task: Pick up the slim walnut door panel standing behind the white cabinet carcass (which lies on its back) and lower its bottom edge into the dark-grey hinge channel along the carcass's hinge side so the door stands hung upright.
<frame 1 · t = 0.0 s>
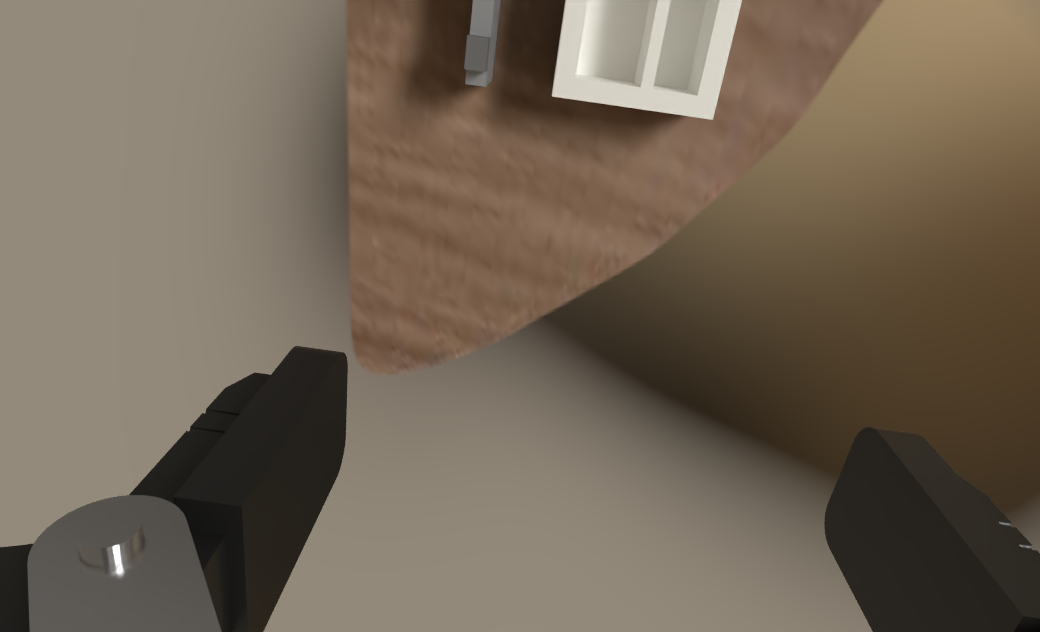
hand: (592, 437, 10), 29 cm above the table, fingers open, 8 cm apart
cabinet: (641, 9, 34), on the table
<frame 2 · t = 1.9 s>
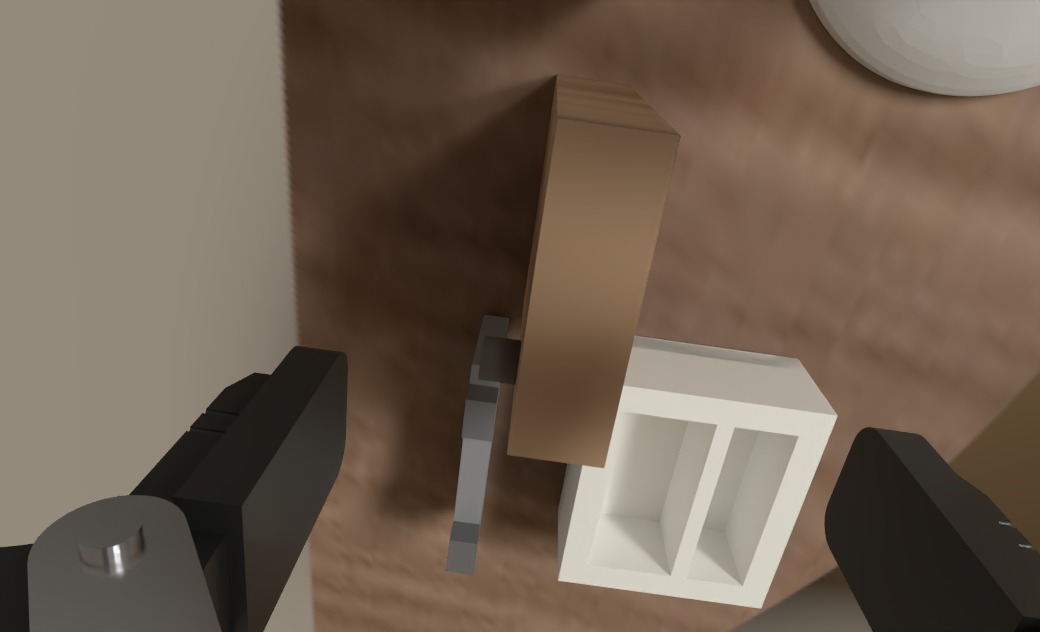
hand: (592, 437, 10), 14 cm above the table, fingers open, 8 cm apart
cabinet: (669, 439, 27), on the table
door: (572, 197, 23), on the table
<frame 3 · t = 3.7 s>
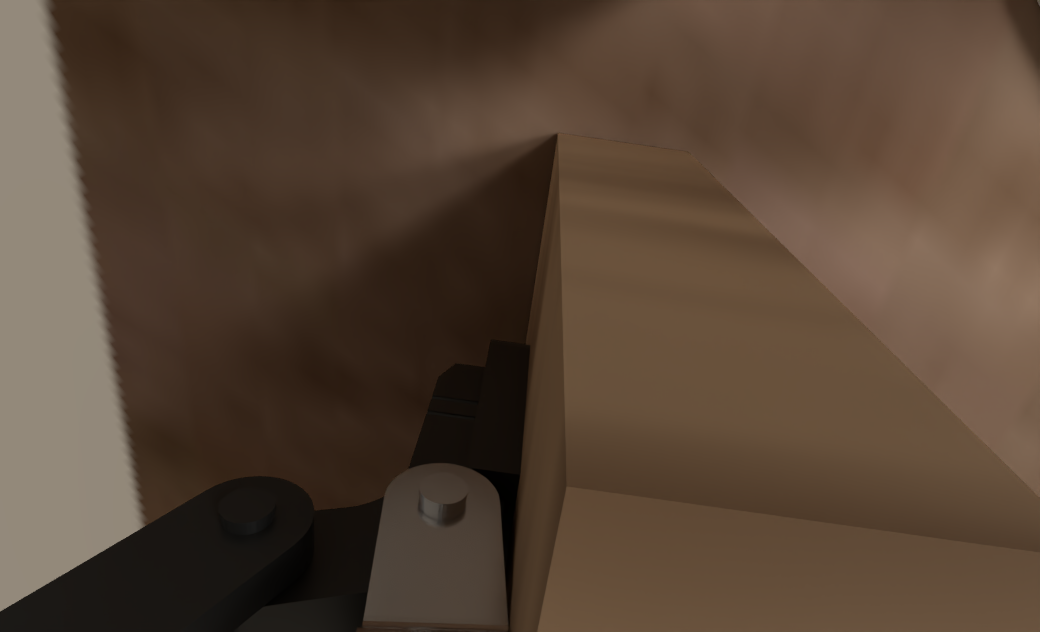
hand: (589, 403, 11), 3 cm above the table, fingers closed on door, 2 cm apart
door: (585, 337, 14), on the table, touching gripper
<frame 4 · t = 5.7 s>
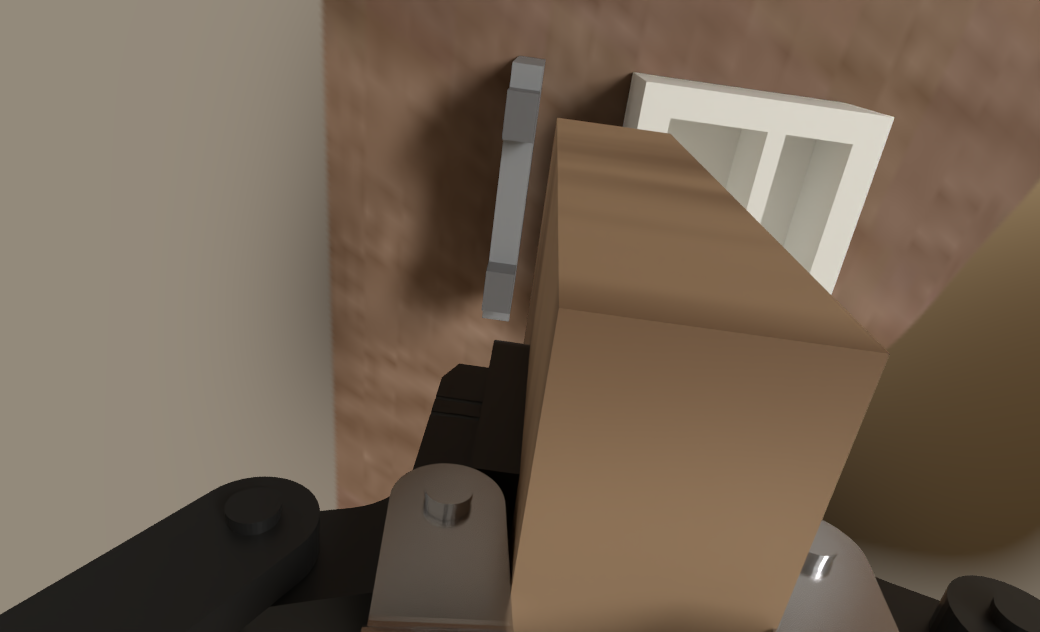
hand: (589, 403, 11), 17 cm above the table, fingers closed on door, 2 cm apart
cabinet: (708, 204, 27), on the table
door: (581, 299, 15), point 12 cm above the table, touching gripper
when the fingers open (5 cm above the table, at t = 7.7 s): door stays where it is, on the table.
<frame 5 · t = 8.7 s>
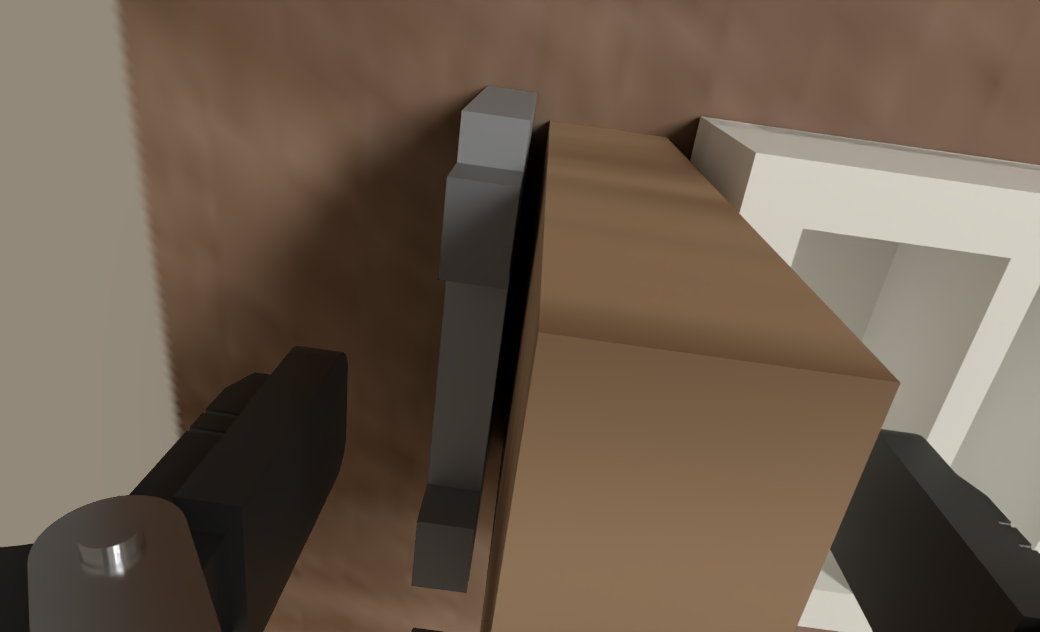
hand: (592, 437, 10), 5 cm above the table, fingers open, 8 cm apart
cabinet: (825, 343, 15), on the table
door: (576, 307, 15), on the table
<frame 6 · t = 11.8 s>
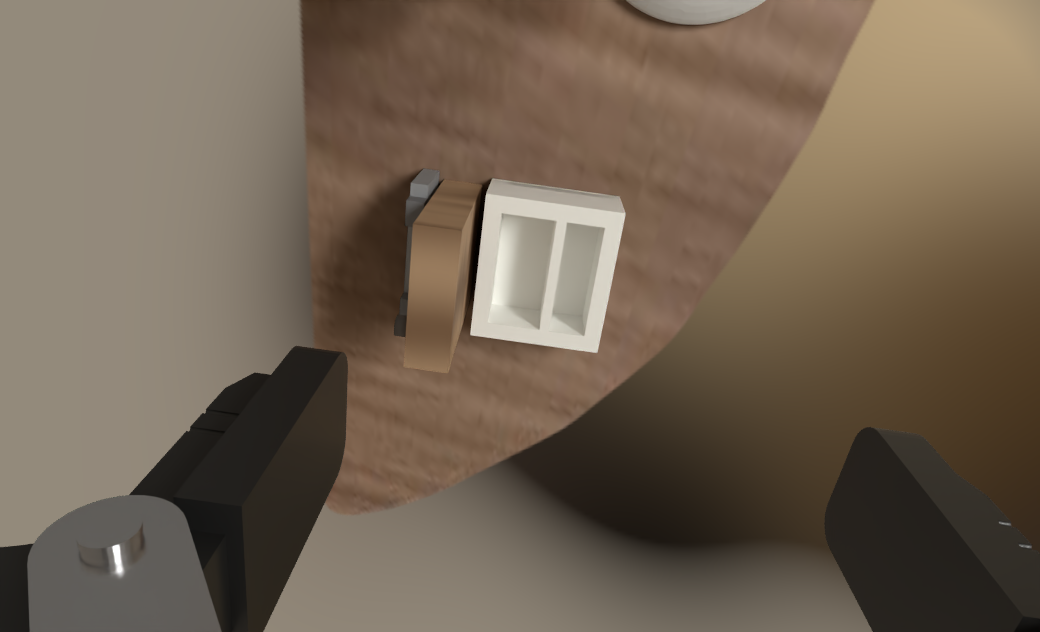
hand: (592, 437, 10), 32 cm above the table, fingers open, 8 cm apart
cabinet: (545, 255, 43), on the table
door: (457, 242, 43), on the table
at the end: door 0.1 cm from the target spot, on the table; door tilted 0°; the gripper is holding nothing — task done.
